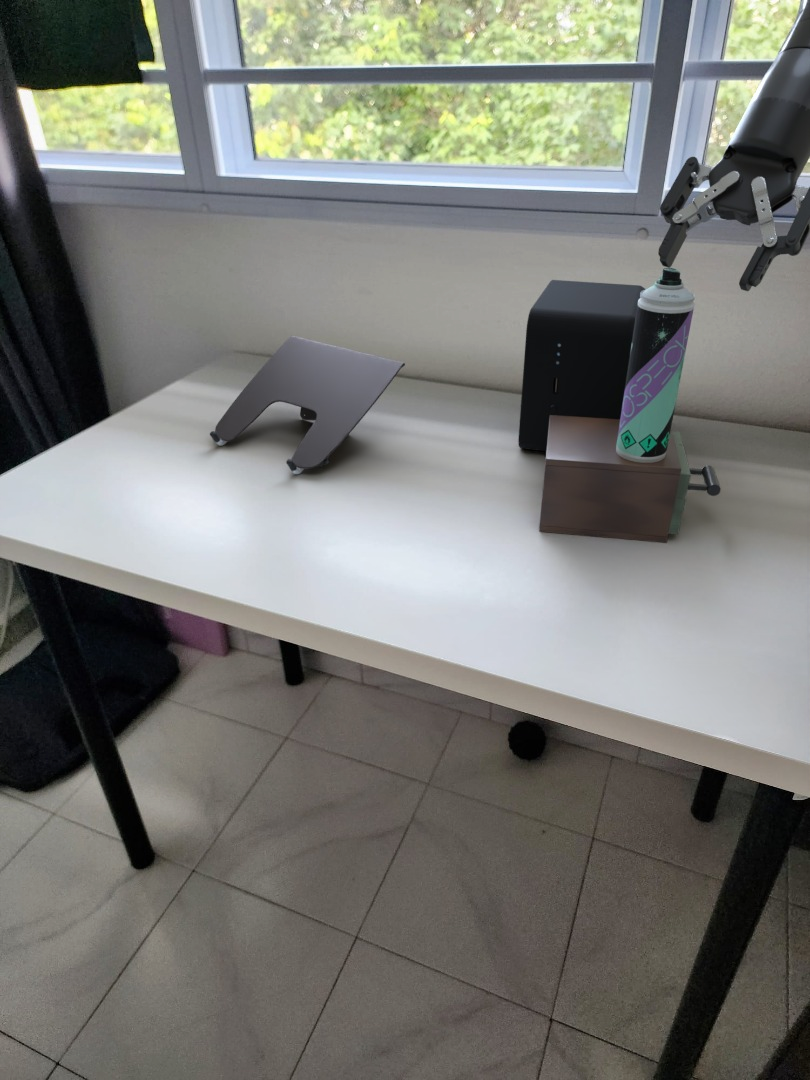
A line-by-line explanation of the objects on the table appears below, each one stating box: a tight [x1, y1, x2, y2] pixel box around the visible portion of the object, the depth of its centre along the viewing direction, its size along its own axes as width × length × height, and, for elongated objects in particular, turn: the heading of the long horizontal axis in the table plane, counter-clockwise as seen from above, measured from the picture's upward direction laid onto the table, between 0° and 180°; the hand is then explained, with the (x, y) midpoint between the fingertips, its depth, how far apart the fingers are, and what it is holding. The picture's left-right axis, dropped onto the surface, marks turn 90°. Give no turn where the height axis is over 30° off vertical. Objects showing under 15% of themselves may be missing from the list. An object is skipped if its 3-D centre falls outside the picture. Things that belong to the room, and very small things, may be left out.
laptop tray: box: [209, 335, 406, 475], centre depth 112 cm, size 23×23×9 cm
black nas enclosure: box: [517, 279, 647, 452], centre depth 107 cm, size 20×15×20 cm
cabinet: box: [538, 415, 681, 543], centre depth 90 cm, size 15×13×10 cm
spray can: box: [616, 267, 696, 463], centre depth 79 cm, size 6×6×20 cm
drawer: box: [668, 430, 722, 535], centre depth 90 cm, size 18×11×8 cm, turn 79°
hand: (702, 275), depth 75 cm, fingers open, 8 cm apart
